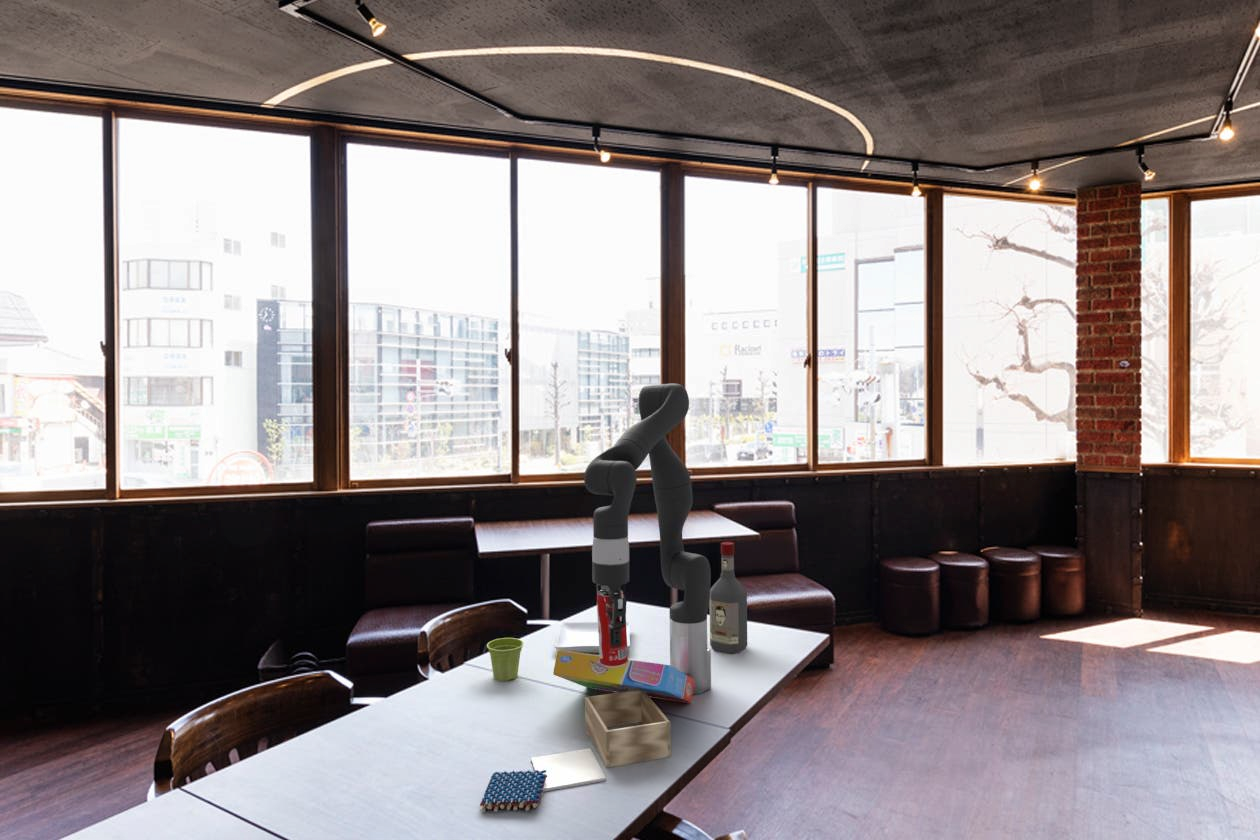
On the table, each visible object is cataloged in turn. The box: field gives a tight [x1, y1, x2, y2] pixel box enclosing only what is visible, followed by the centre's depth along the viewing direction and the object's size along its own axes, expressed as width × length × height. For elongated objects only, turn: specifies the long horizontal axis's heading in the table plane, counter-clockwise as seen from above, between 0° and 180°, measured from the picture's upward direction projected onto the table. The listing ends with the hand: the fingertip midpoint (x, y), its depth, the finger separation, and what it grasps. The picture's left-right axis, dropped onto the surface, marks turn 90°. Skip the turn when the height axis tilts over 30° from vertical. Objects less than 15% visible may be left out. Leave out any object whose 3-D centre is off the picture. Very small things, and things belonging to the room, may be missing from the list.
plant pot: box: [486, 637, 524, 682], centre depth 185 cm, size 9×9×9 cm
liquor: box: [709, 541, 748, 655], centre depth 204 cm, size 9×9×30 cm
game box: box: [553, 650, 694, 704], centre depth 165 cm, size 21×6×27 cm
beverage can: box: [596, 589, 629, 668], centre depth 146 cm, size 6×6×15 cm
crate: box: [584, 689, 671, 769], centre depth 149 cm, size 13×17×7 cm
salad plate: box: [553, 621, 632, 654], centre depth 210 cm, size 21×21×3 cm
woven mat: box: [479, 769, 547, 814], centre depth 129 cm, size 10×11×2 cm
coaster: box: [530, 748, 607, 793], centre depth 138 cm, size 12×12×1 cm
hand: (611, 641), depth 146 cm, fingers closed on beverage can, 5 cm apart
